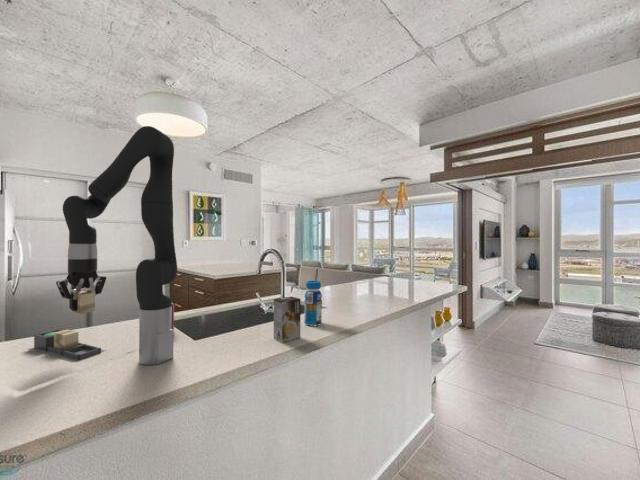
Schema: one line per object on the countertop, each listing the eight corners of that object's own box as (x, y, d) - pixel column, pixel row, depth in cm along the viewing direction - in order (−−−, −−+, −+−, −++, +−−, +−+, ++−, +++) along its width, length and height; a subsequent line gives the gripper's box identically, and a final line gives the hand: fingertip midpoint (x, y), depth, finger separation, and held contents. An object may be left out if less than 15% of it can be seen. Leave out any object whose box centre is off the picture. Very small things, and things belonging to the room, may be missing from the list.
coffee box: (291, 333, 122) (292, 296, 122) (300, 338, 117) (301, 298, 117) (272, 338, 116) (273, 298, 116) (281, 343, 111) (282, 301, 111)
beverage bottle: (301, 322, 138) (301, 280, 138) (317, 320, 142) (318, 279, 141) (308, 327, 130) (308, 283, 130) (324, 325, 134) (325, 282, 134)
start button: (63, 341, 103) (63, 332, 103) (48, 345, 99) (48, 336, 99) (56, 339, 105) (56, 331, 105) (41, 343, 101) (41, 334, 101)
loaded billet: (78, 349, 100) (78, 331, 100) (64, 353, 96) (64, 335, 96) (67, 346, 102) (67, 329, 102) (53, 350, 98) (53, 332, 98)
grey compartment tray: (106, 353, 99) (106, 337, 99) (72, 365, 89) (72, 347, 89) (62, 342, 108) (62, 327, 108) (27, 352, 99) (27, 336, 99)
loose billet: (94, 310, 96) (94, 293, 96) (81, 313, 92) (81, 295, 92) (83, 308, 98) (83, 291, 98) (69, 311, 95) (69, 293, 95)
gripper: (64, 259, 87) (63, 315, 87) (112, 256, 100) (112, 305, 101) (49, 258, 90) (49, 313, 90) (98, 255, 103) (98, 303, 103)
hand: (82, 308), depth 95 cm, fingers closed on loose billet, 4 cm apart
